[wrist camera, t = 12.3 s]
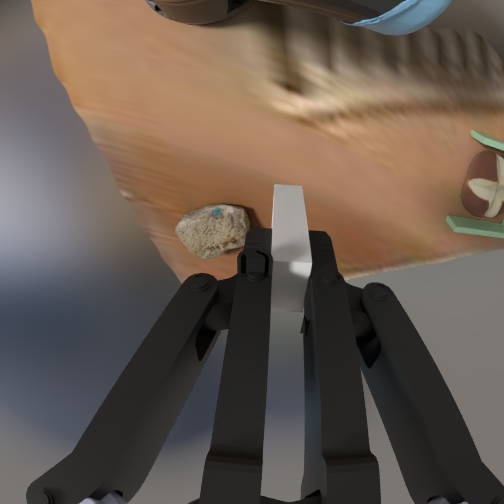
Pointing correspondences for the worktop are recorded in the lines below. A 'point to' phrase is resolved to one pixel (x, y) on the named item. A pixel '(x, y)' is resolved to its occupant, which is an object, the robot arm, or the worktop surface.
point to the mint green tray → (473, 224)
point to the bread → (485, 185)
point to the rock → (213, 229)
